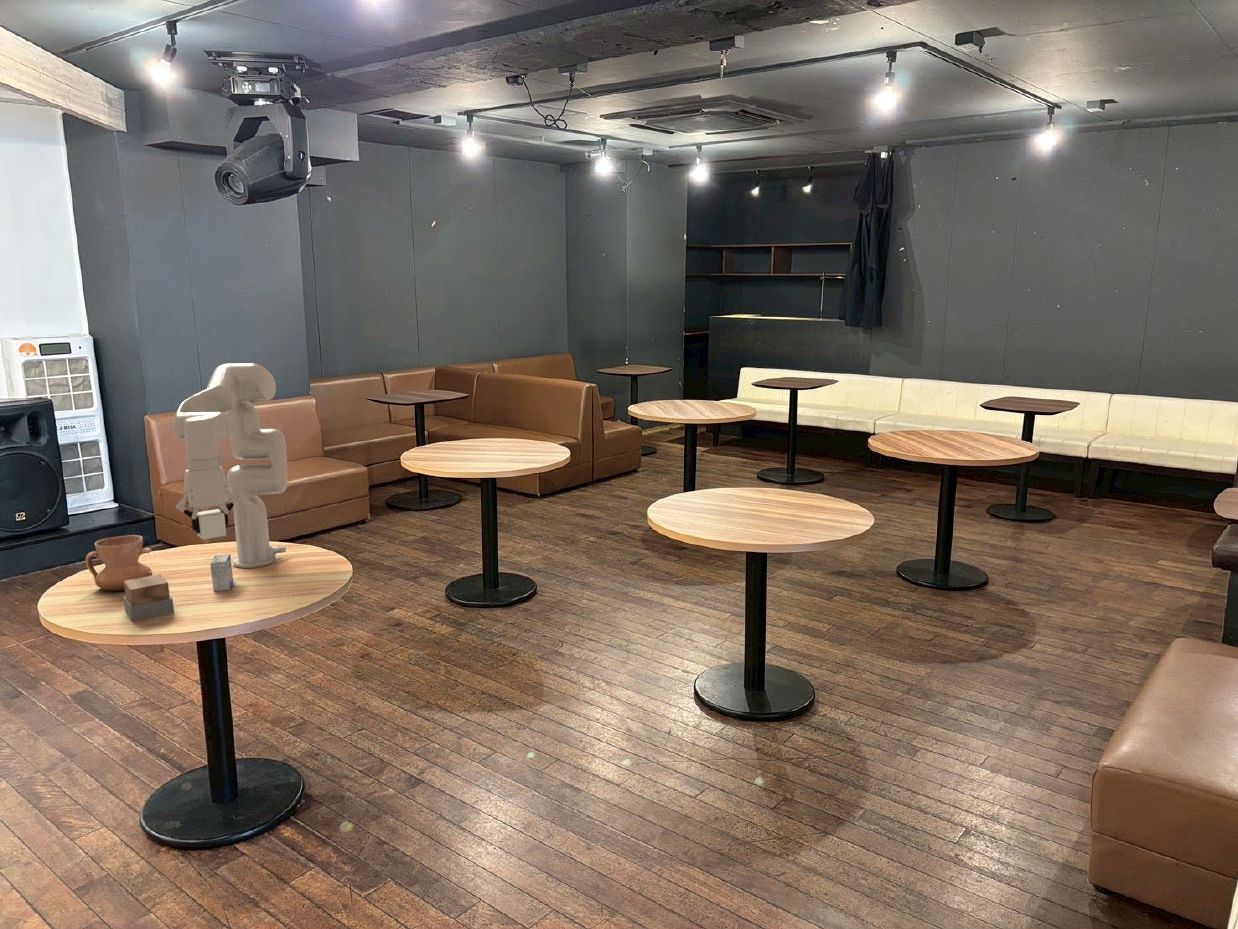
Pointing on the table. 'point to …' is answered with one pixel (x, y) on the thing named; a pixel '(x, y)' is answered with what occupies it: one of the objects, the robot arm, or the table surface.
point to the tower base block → (149, 609)
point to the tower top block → (146, 589)
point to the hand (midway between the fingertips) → (210, 529)
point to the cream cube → (211, 524)
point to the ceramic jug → (118, 561)
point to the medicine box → (221, 572)
